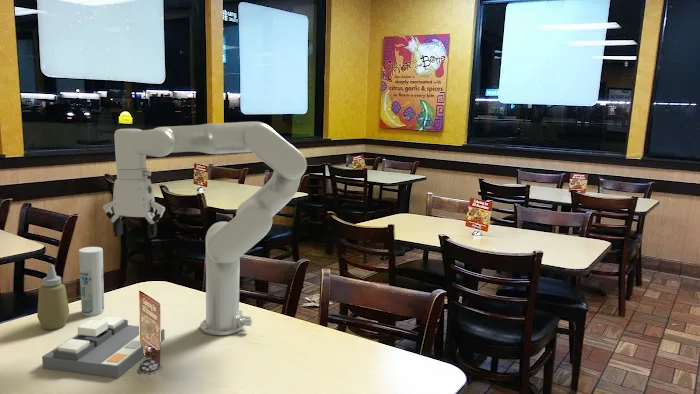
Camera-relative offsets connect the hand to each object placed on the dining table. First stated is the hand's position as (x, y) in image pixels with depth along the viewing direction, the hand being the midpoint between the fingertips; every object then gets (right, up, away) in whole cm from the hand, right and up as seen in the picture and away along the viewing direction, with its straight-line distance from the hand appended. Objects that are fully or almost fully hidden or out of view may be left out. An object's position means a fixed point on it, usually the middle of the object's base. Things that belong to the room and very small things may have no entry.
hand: (135, 236), depth 147 cm
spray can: (-20, -25, +17) cm, 36 cm away
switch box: (-4, -30, -8) cm, 31 cm away
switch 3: (-7, -25, -1) cm, 26 cm away
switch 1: (-9, -27, -15) cm, 33 cm away
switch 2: (-8, -24, -8) cm, 27 cm away
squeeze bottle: (-26, -27, +6) cm, 38 cm away
